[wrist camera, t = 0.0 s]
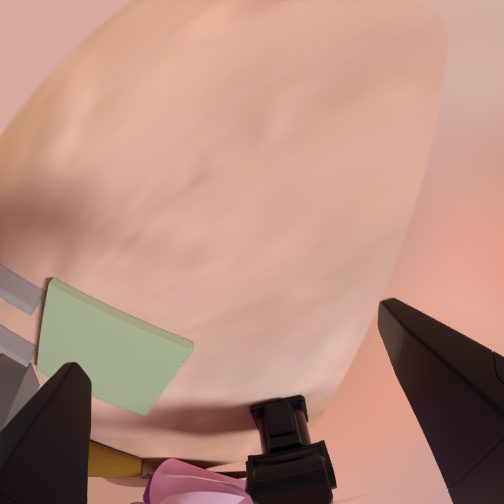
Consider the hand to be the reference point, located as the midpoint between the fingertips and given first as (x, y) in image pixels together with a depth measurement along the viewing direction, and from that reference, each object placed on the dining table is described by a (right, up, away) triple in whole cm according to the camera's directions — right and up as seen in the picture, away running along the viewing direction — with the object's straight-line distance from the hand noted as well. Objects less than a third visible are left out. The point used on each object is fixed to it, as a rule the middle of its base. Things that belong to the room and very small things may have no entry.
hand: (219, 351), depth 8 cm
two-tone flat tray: (-18, -6, +18) cm, 26 cm away
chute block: (-28, -12, +20) cm, 36 cm away
